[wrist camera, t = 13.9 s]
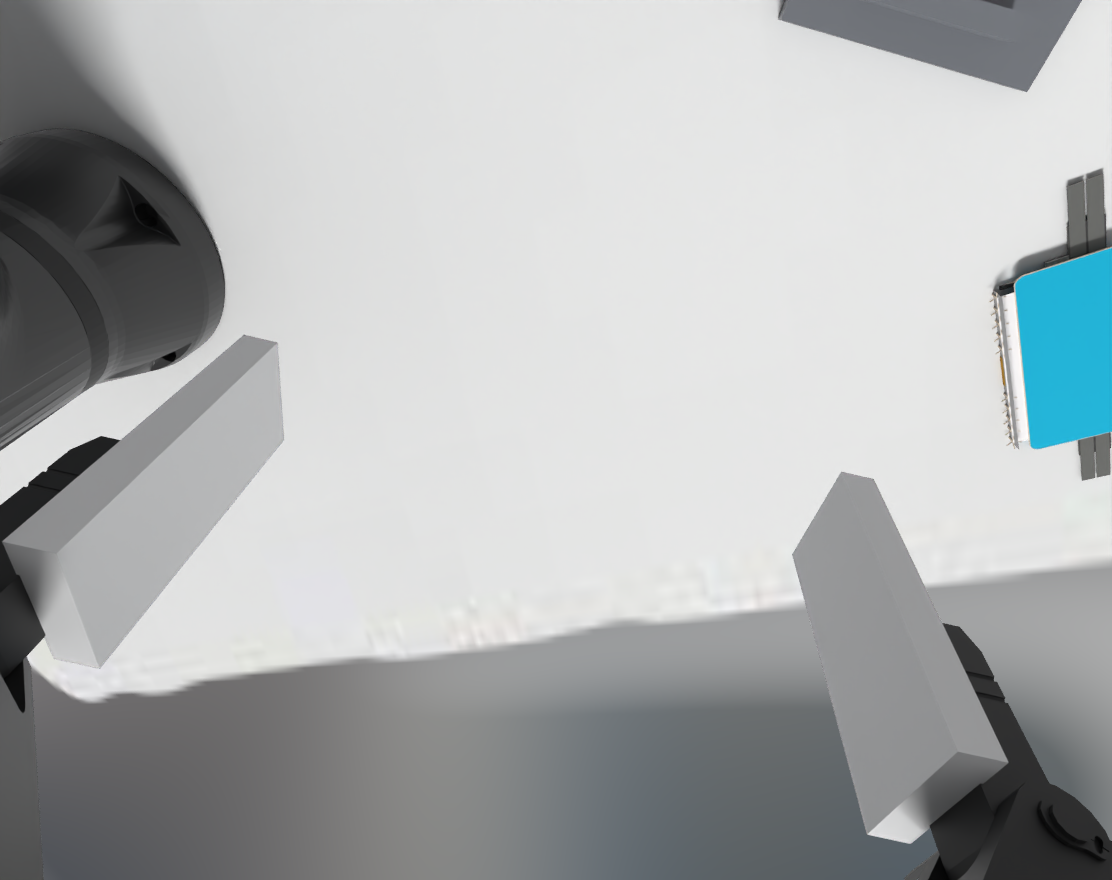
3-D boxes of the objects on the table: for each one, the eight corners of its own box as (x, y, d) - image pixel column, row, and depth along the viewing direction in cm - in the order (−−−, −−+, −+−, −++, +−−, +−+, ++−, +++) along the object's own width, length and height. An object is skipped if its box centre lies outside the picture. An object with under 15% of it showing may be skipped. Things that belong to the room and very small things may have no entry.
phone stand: (1217, 442, 40) (1237, 458, 38) (1000, 491, 44) (1011, 507, 42) (1243, 117, 30) (1270, 123, 29) (964, 217, 35) (977, 226, 33)
